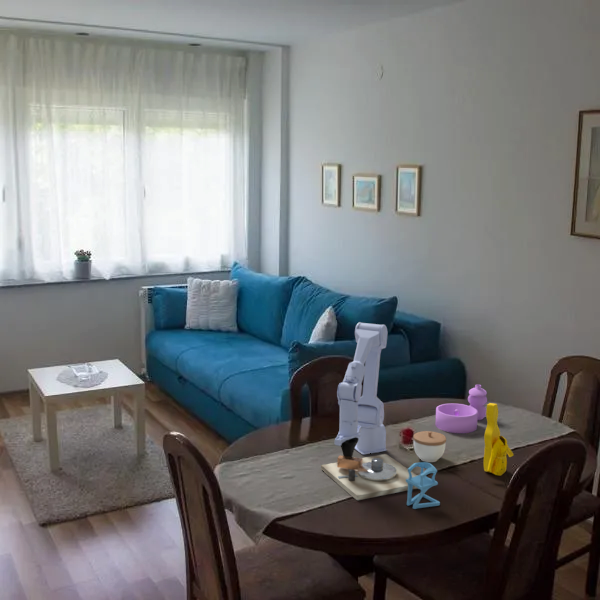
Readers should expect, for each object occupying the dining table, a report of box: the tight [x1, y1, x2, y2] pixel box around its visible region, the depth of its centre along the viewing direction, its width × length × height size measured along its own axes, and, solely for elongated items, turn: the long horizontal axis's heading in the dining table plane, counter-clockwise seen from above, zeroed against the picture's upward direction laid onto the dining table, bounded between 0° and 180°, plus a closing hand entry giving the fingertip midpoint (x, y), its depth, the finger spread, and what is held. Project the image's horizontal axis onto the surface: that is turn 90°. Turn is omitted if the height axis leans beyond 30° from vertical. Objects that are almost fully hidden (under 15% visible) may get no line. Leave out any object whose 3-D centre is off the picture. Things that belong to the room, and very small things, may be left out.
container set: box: [434, 384, 488, 434], centre depth 282 cm, size 25×15×13 cm, turn 134°
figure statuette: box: [483, 402, 514, 476], centre depth 237 cm, size 18×8×22 cm, turn 140°
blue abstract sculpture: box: [406, 461, 441, 510], centre depth 215 cm, size 8×8×12 cm
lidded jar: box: [412, 430, 447, 463], centre depth 248 cm, size 11×11×9 cm
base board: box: [320, 453, 418, 501], centre depth 233 cm, size 24×24×4 cm
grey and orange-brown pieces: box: [337, 455, 396, 481], centre depth 233 cm, size 18×12×4 cm, turn 71°
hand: (347, 459), depth 237 cm, fingers closed
